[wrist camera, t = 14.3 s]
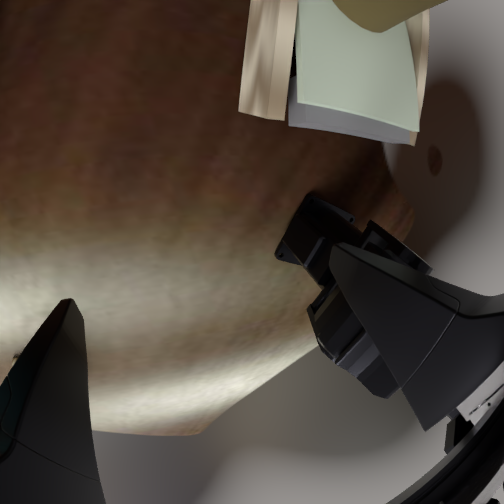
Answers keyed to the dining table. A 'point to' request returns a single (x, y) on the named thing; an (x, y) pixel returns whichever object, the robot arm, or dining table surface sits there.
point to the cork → (382, 11)
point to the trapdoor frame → (280, 54)
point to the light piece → (352, 76)
